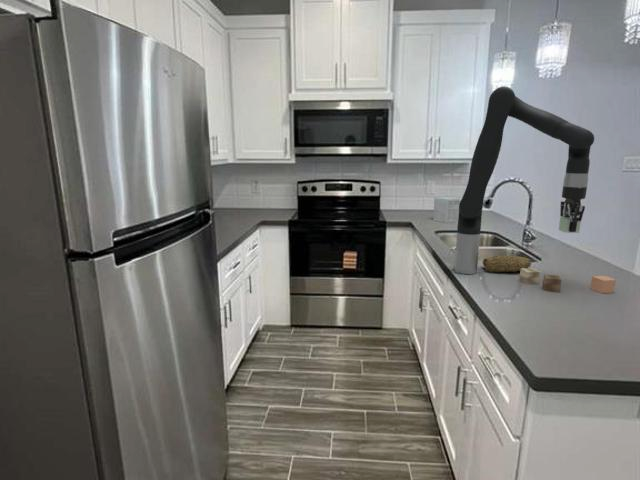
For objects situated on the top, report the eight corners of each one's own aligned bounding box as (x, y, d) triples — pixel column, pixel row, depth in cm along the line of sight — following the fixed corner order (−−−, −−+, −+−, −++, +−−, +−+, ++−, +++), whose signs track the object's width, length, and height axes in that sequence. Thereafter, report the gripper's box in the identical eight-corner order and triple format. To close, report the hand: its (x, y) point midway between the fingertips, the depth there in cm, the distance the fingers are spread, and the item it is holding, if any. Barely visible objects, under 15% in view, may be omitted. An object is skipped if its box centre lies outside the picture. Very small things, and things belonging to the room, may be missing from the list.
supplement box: (458, 221, 285) (460, 198, 281) (446, 223, 279) (448, 199, 275) (444, 219, 296) (446, 196, 293) (432, 220, 290) (434, 197, 286)
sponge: (488, 277, 164) (539, 270, 159) (484, 258, 164) (535, 251, 159) (482, 273, 176) (529, 266, 172) (479, 256, 176) (526, 249, 172)
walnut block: (544, 290, 144) (545, 278, 142) (542, 286, 148) (544, 274, 147) (559, 292, 142) (561, 279, 140) (557, 288, 146) (559, 275, 145)
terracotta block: (602, 293, 140) (604, 280, 139) (590, 289, 145) (592, 276, 144) (613, 292, 141) (615, 279, 140) (601, 288, 146) (603, 275, 145)
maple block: (526, 284, 151) (527, 272, 150) (519, 280, 156) (520, 268, 155) (538, 284, 151) (540, 271, 150) (531, 279, 156) (532, 268, 155)
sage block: (564, 232, 145) (566, 219, 144) (558, 229, 150) (560, 217, 148) (578, 232, 144) (580, 219, 143) (572, 230, 149) (574, 217, 148)
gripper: (555, 183, 150) (550, 226, 154) (573, 187, 137) (566, 233, 140) (576, 184, 149) (570, 227, 153) (596, 187, 135) (589, 234, 139)
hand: (568, 230), depth 147 cm, fingers closed on sage block, 5 cm apart
